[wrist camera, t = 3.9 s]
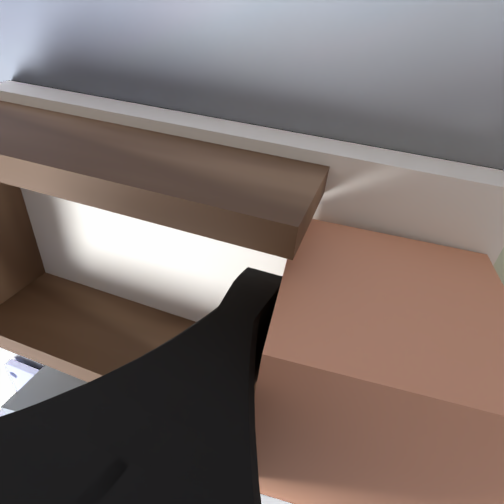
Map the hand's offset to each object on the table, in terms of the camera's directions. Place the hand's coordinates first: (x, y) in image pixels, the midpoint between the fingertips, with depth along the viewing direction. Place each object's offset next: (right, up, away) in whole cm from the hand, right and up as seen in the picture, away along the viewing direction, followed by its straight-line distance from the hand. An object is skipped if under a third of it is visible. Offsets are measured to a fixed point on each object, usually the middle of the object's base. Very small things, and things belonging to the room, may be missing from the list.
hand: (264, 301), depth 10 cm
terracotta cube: (+3, 0, 0) cm, 3 cm away
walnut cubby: (-4, +2, +2) cm, 5 cm away
